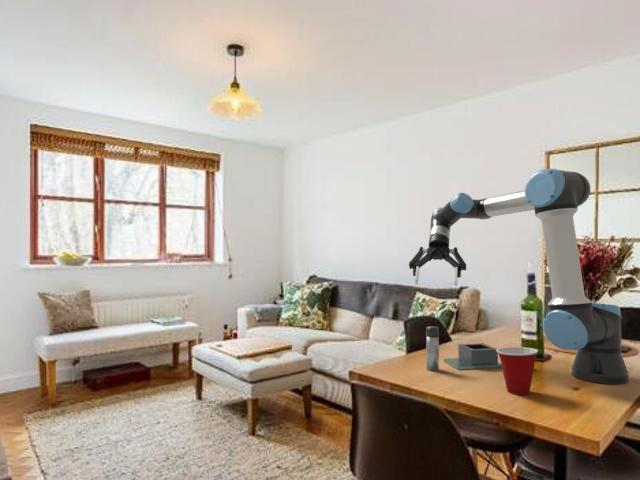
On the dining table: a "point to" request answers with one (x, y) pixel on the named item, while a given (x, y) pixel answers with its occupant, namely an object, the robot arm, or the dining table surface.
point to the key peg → (432, 348)
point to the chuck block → (474, 357)
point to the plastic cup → (517, 368)
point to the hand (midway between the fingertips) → (435, 282)
